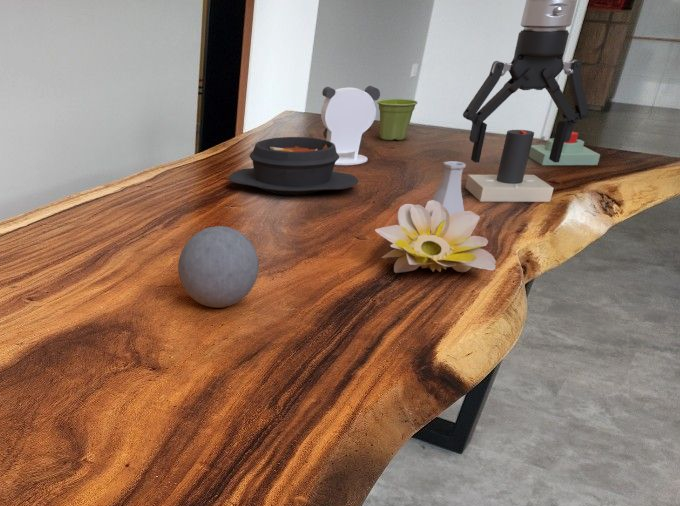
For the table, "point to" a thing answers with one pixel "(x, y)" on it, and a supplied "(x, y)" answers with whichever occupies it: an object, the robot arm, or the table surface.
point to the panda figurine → (348, 120)
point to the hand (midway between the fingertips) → (514, 161)
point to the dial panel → (509, 189)
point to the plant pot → (395, 117)
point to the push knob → (573, 138)
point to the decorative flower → (436, 239)
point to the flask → (451, 187)
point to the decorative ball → (218, 266)
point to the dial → (515, 156)
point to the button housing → (565, 154)
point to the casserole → (294, 167)
